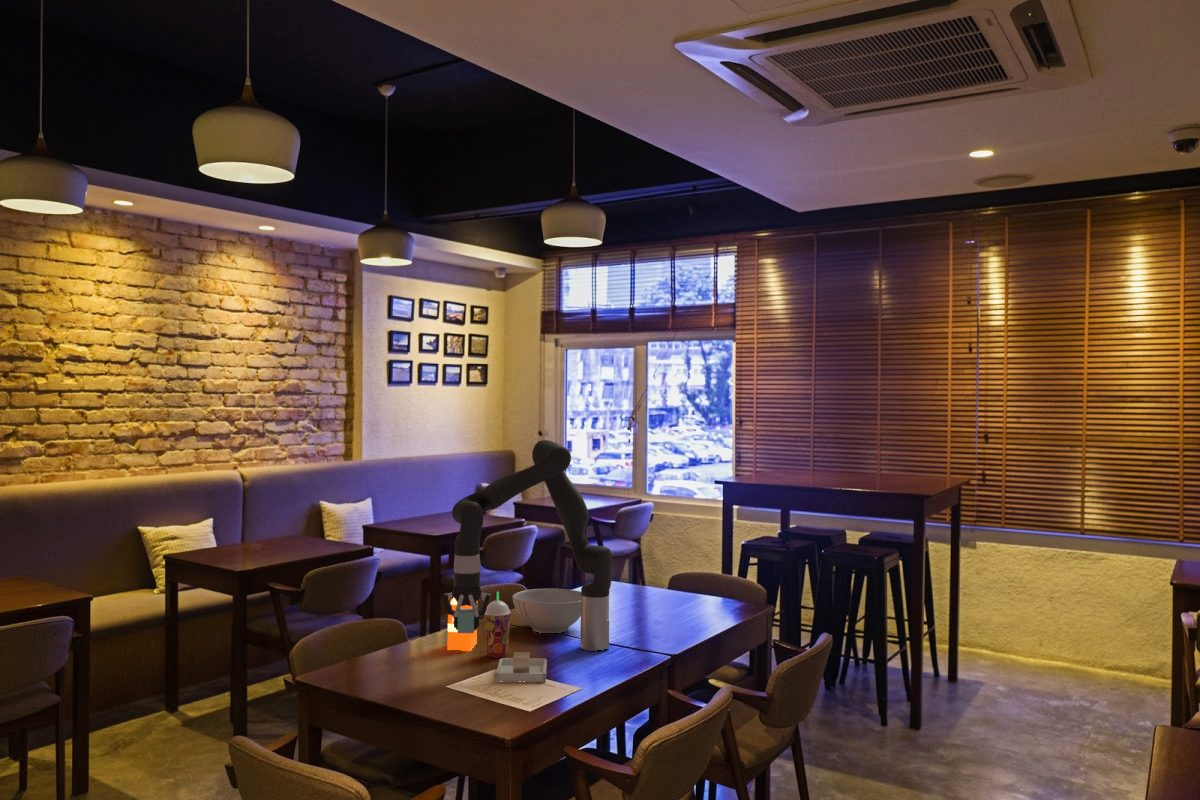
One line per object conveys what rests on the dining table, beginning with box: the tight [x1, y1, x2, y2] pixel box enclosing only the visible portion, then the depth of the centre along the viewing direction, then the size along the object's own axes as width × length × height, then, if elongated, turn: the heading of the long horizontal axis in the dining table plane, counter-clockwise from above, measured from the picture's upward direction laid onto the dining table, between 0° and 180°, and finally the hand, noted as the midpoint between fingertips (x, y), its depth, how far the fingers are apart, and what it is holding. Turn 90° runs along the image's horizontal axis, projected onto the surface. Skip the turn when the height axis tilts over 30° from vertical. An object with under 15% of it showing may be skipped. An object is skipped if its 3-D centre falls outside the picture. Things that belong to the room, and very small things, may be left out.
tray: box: [495, 657, 548, 683], centre depth 257 cm, size 14×16×2 cm
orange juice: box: [446, 596, 478, 652], centre depth 286 cm, size 8×9×20 cm
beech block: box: [513, 651, 531, 673], centre depth 253 cm, size 4×4×6 cm
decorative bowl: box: [512, 588, 581, 634], centre depth 311 cm, size 27×27×12 cm
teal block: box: [458, 609, 475, 633], centre depth 253 cm, size 4×4×6 cm
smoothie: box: [483, 591, 512, 659], centre depth 276 cm, size 8×8×20 cm
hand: (466, 629), depth 253 cm, fingers closed on teal block, 4 cm apart
